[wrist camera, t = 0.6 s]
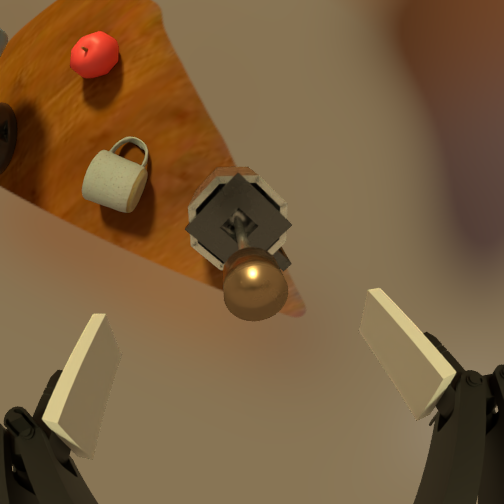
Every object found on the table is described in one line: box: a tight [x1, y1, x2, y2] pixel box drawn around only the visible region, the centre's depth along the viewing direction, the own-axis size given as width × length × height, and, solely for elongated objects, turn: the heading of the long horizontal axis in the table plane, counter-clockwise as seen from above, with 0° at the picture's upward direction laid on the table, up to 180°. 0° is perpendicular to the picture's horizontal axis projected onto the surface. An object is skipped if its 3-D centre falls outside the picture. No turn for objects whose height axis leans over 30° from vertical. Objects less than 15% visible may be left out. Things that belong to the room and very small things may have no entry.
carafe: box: [185, 167, 292, 271], centre depth 37 cm, size 14×11×13 cm
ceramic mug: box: [82, 137, 148, 213], centre depth 35 cm, size 11×8×8 cm
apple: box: [70, 31, 119, 78], centre depth 27 cm, size 8×8×8 cm
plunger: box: [221, 208, 288, 321], centre depth 25 cm, size 8×8×18 cm
